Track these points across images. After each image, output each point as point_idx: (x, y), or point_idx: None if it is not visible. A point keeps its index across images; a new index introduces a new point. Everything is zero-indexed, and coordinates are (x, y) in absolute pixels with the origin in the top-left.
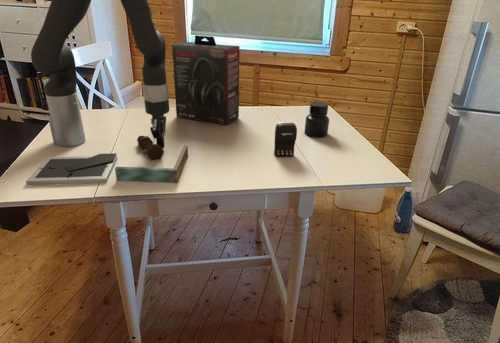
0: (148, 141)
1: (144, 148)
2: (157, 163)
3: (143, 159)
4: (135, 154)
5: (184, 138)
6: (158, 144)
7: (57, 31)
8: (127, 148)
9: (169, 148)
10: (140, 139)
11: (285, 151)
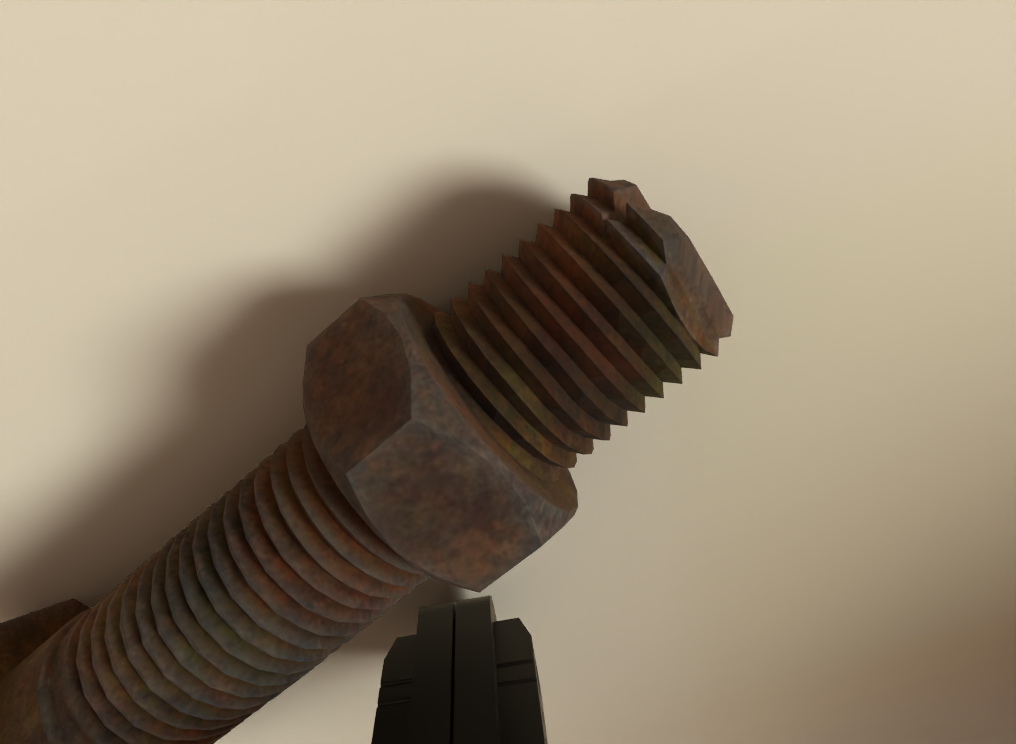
0: (319, 613)
1: (208, 510)
2: None
3: (19, 523)
4: (137, 322)
5: (918, 724)
6: (383, 705)
7: None
8: (349, 19)
9: None
10: (361, 420)
11: None
